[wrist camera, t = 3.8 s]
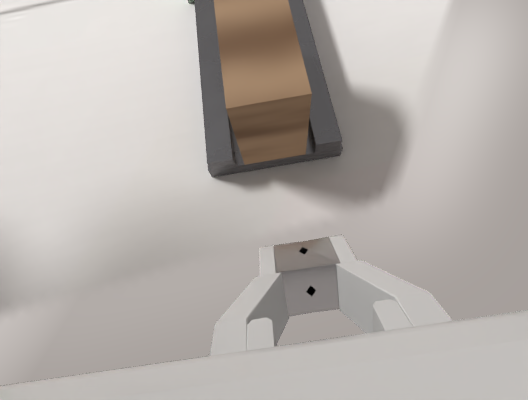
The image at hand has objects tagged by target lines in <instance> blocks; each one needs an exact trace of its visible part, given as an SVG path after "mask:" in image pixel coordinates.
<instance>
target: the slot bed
mask: <svg viewBox="0 0 528 400" xmlns="http://www.w3.org/2000/svg"><path fill="white" fill-rule="evenodd" d="M288 2H289V6H290V10H291V14H292V18H293V22H294V26H295V30H296V34H297V37H298V41H299V45H300V49H301V53H302V57H303V61H304V65H305V69H306V73H307V77H308V81H309V84H310V88H311V92H312V96H311V106H310V116H309V126H308V136H307V146H306V154H305V155H299V156H293V157H287V158H281V159H275V160H270V161H264V162H258V163H252V164H246V165H245V164H244V161H243V158H242V155H241V152H240V149H239V146H238V143H237V140H236V137H235V134H234V131H233V128H232V125H231V122H230V119H229V116H228V113H227V110H226V104H225V95H224V86H223V77H222V69H221V60H220V51H219V42H218V34H217V25H216V16H215V8H214V0H195V12H196V25H197V38H198V51H199V63H200V76H201V89H202V102H203V114H204V127H205V140H206V153H207V164H208V171H209V173H210V174H211V176H212V177H215V176H221V175H227V174H233V173H239V172H245V171H251V170H257V169H263V168H269V167H275V166H281V165H287V164H292V163H298V162H304V161H310V160H316V159H322V158H328V157H334V156H340V155H341V152H342V149H343V147H342V144H341V143H342V138H341V134H340V131H339V127H338V124H337V120H336V117H335V113H334V110H333V106H332V103H331V99H330V96H329V92H328V88H327V85H326V81H325V78H324V74H323V71H322V67H321V64H320V60H319V57H318V53H317V50H316V46H315V42H314V39H313V35H312V32H311V28H310V25H309V21H308V18H307V14H306V11H305V7H304V4H303V0H288Z"/></svg>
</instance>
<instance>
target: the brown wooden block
mask: <svg viewBox="0 0 528 400" xmlns="http://www.w3.org/2000/svg"><path fill="white" fill-rule="evenodd" d="M214 8H215V16H216V25H217V34H218V42H219V51H220V60H221V69H222V77H223V86H224V95H225V104H226V110H227V113H228V116H229V119H230V122H231V125H232V128H233V131H234V134H235V137H236V140H237V143H238V146H239V149H240V152H241V155H242V158H243V161H244V164H245V165H246V164H252V163H258V162H264V161H270V160H275V159H281V158H287V157H293V156H299V155H305V154H306V146H307V136H308V126H309V116H310V106H311V96H312V92H311V88H310V84H309V81H308V77H307V73H306V69H305V65H304V61H303V57H302V53H301V49H300V45H299V41H298V37H297V34H296V30H295V26H294V22H293V18H292V14H291V10H290V6H289V2H288V0H214Z"/></svg>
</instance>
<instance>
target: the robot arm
mask: <svg viewBox="0 0 528 400" xmlns="http://www.w3.org/2000/svg"><path fill="white" fill-rule="evenodd" d="M259 266H260V267H259V268H260V276H256V277H255V278H254V279H253V280H252V281H251V283H250V284H249V285H248V286H247V287H246V288H245V289H244V291H243V292H242V293H241V294H240V295H239V296H238V298H237V299H236V300H235V301H234V302H233V303H232V305H231V306H230V307H229V308H228V309H227V310H226V312H225V313H224V314H223V315H222V316H221V317H220V318H219V320H218V321H217V322H216V323H215V326H214V332H213V338H212V345H211V350H210V356H205V357H199V358H191V359H185V360H177V361H170V362H163V363H156V364H149V365H142V366H135V367H128V368H121V369H114V370H107V371H101V372H93V373H86V374H79V375H72V376H65V377H58V378H51V379H44V380H38V381H31V382H23V383H16V384H10V385H3V386H0V400H528V310H525V311H518V312H512V313H505V314H498V315H491V316H484V317H477V318H470V319H463V320H456V321H453V320H452V319H451V318H450V317H449V316H448V314H447V313H446V312H445V311H444V309H443V308H442V307H441V306H440V304H439V303H438V302H437V301H436V300H435V298H434V297H433V296H432V294H431V293H430V292H428V291H426V290H424V289H421V288H419V287H417V286H415V285H413V284H411V283H409V282H407V281H405V280H402V279H401V278H398V277H396V276H394V275H392V274H390V273H388V272H386V271H384V270H382V269H380V268H378V267H376V266H373V265H371V264H369V263H367V262H365V261H363V260H359V261H358V260H357V258H356V257H355V255H354V253H353V251H352V249H351V248H350V246H349V244H348V242H347V241H346V239H345V237H344V236H343V235H342V234H340V235H335V236H330V237H325V238H320V239H314V240H309V241H303V242H293V243H286V244H279V245H274V246H273V245H271V246H265V247H260V248H259ZM336 309H340V311H341V312H342V313H343V314H344V315H346V316H347V317H348V318H349V319H350V320H351V321H353V322H354V323H355V324H356V325H357V326H358V327H359V328H361V329H362V330H363V331H364V332H365V334H358V335H351V336H344V337H337V338H330V339H323V340H317V341H310V342H303V343H296V344H289V345H282V346H277V342H278V340H279V338H280V336H281V334H282V332H283V330H284V328H285V325H286V323H287V321H288V319H289V316H295V315H300V314H306V313H312V312H319V311H328V310H336Z"/></svg>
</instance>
